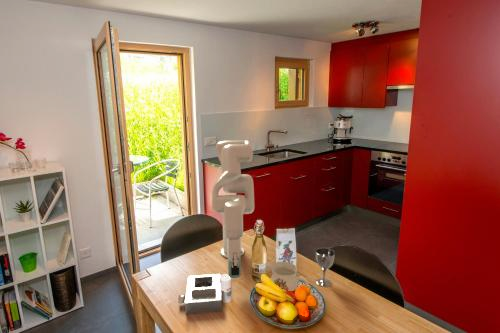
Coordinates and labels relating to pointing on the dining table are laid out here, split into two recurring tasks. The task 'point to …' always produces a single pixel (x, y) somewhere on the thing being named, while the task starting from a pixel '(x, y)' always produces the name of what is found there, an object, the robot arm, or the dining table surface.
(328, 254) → the wine glass
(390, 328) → the dining table surface
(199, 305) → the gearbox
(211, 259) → the dining table surface
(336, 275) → the dining table surface
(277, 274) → the pitcher
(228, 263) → the green drinking glass
